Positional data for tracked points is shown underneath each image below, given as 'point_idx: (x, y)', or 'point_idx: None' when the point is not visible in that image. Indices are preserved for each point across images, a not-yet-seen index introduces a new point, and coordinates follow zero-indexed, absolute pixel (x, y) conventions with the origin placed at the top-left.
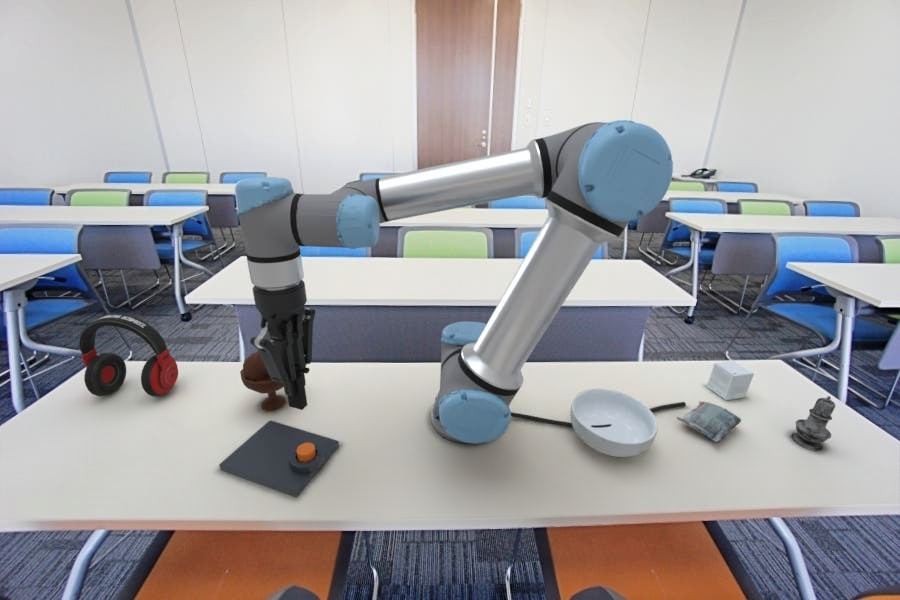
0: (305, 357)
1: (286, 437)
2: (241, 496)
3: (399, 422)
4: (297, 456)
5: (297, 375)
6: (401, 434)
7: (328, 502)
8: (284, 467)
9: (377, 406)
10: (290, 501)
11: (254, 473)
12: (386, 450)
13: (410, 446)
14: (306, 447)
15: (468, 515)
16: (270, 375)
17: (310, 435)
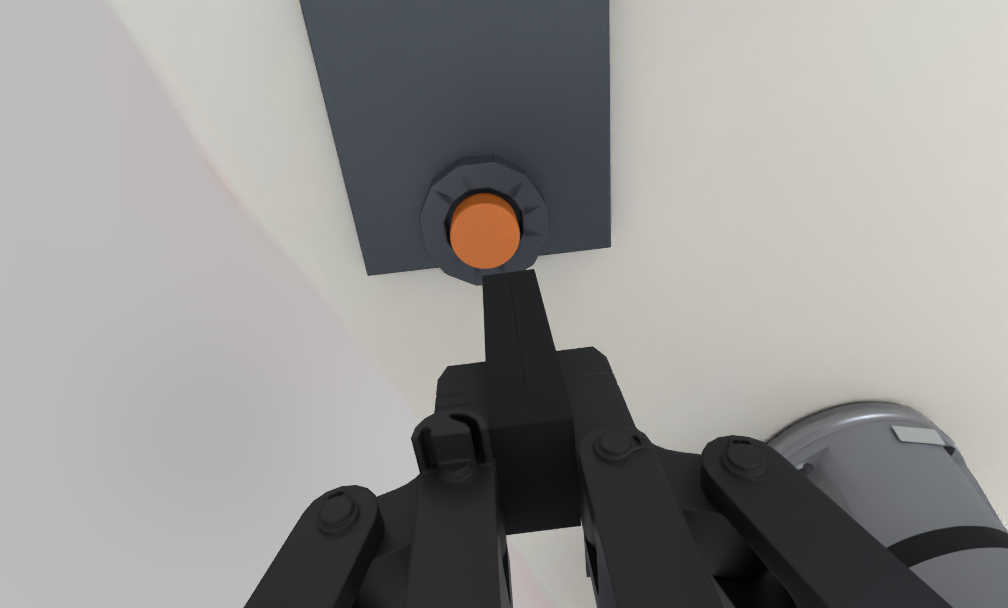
0: (729, 600)
1: (543, 38)
2: (265, 98)
3: (777, 340)
4: (454, 214)
5: (549, 505)
6: (723, 372)
7: (412, 348)
8: (418, 165)
9: (848, 227)
10: (353, 258)
11: (334, 83)
12: (644, 371)
13: (683, 415)
14: (492, 234)
15: (539, 580)
16: (267, 586)
17: (594, 129)
